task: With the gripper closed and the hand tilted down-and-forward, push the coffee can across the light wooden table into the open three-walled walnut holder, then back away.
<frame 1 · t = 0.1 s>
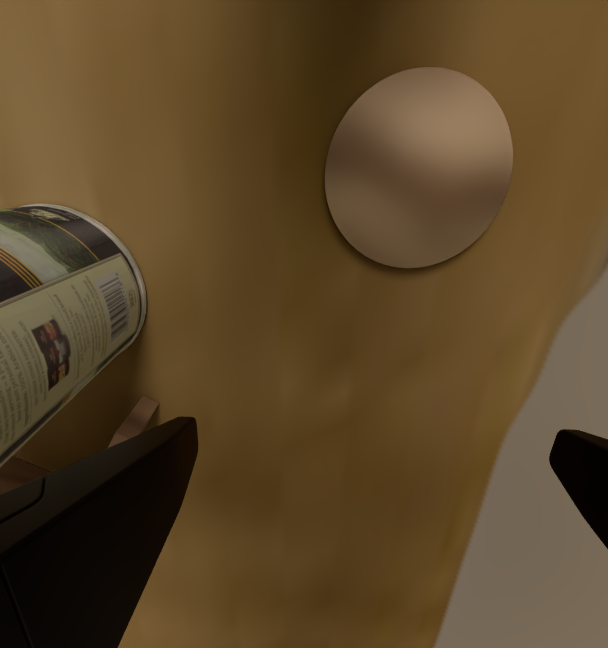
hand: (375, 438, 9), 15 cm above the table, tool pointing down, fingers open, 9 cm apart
coffee can: (66, 289, 23), on the table
walnut holder: (29, 381, 25), on the table
cork mat: (415, 176, 21), on the table
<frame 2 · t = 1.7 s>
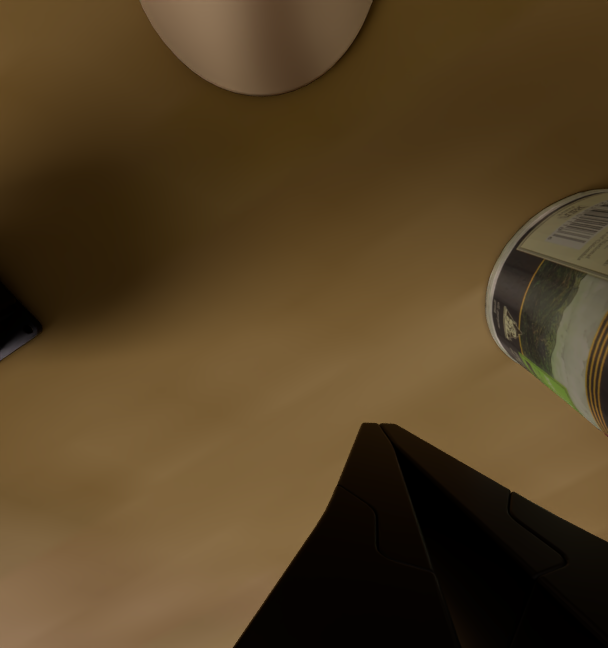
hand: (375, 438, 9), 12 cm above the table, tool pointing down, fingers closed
coffee can: (576, 286, 21), on the table
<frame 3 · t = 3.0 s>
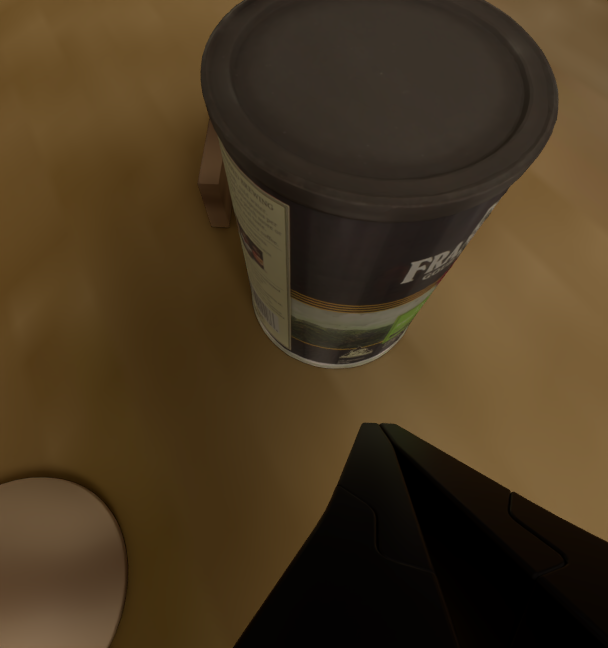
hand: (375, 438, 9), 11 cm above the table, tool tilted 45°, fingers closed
coffee can: (332, 292, 24), on the table
walnut holder: (332, 197, 27), on the table
cork mat: (16, 595, 17), on the table
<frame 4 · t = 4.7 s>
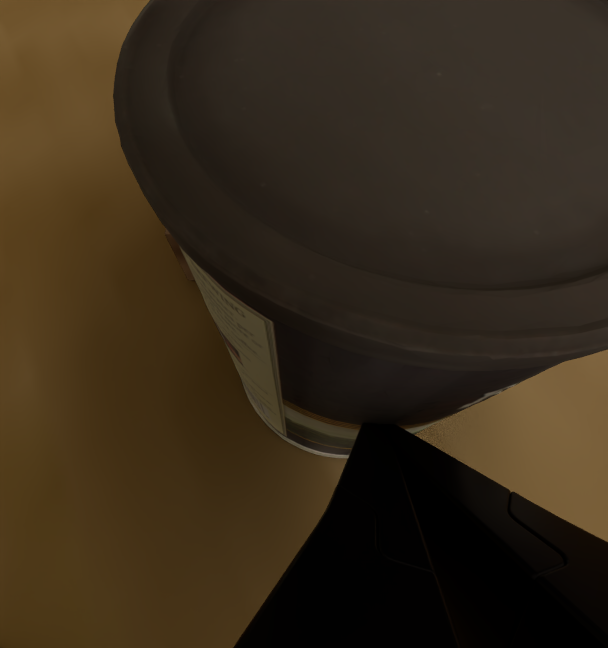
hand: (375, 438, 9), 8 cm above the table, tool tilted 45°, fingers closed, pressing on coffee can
coffee can: (339, 351, 19), on the table, touching gripper
walnut holder: (338, 240, 22), on the table
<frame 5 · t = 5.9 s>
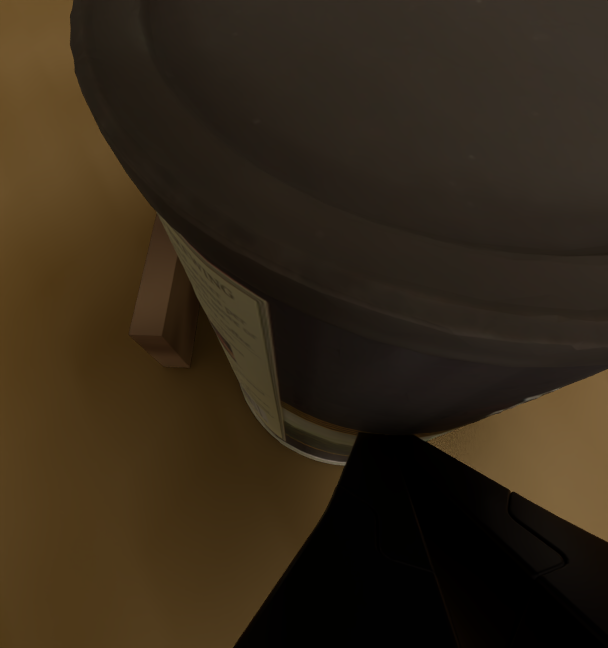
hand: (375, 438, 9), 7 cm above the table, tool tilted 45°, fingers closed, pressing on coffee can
coffee can: (343, 351, 18), on the table, touching gripper
walnut holder: (341, 314, 19), on the table
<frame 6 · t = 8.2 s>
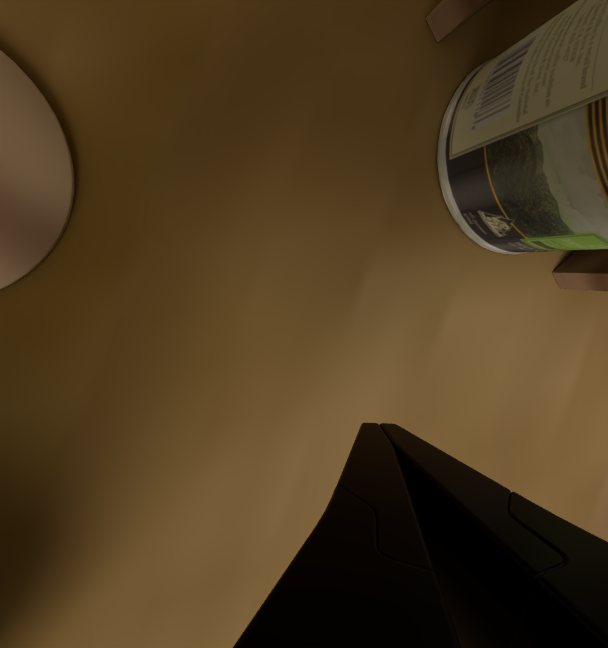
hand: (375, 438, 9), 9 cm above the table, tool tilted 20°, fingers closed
coffee can: (513, 159, 21), on the table
walnut holder: (538, 136, 20), on the table
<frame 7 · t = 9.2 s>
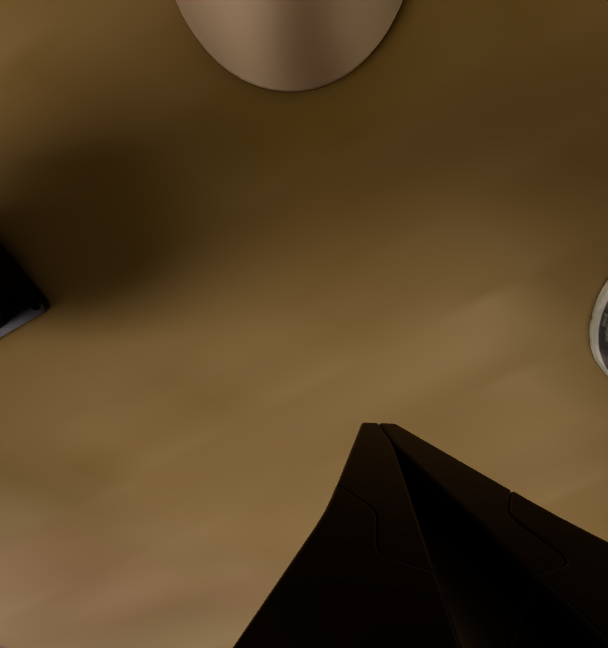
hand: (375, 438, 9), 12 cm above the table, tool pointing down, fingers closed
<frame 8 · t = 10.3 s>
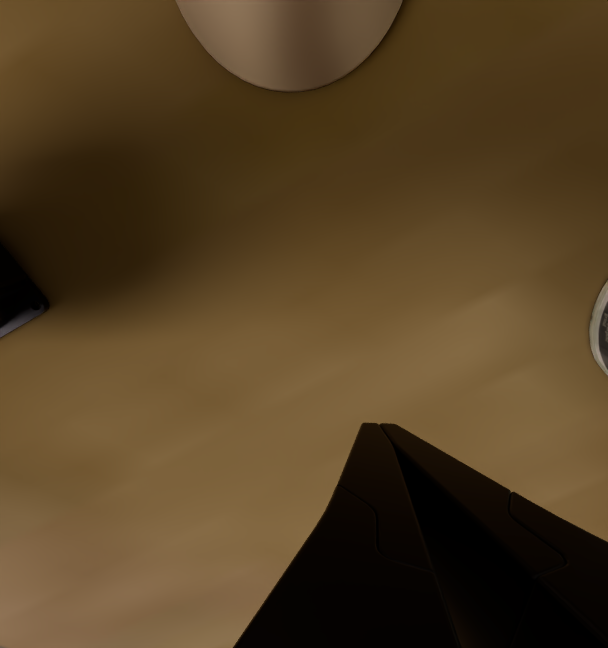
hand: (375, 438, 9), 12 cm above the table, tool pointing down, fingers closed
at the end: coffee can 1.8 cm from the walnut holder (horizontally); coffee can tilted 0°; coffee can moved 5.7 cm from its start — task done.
